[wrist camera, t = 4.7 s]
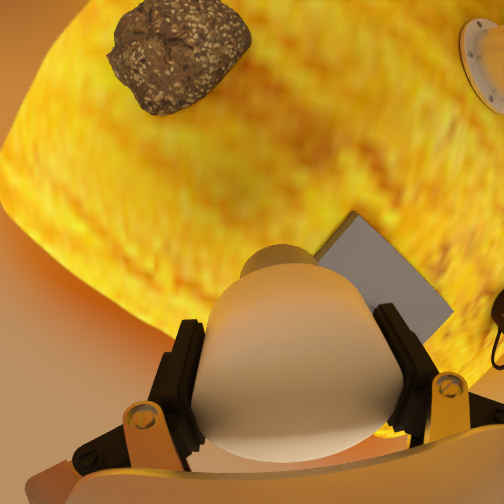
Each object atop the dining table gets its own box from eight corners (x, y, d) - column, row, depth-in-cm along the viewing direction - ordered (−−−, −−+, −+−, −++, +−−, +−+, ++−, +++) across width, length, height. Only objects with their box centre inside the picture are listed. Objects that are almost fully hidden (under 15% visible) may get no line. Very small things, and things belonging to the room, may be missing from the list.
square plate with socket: (353, 210, 28) (376, 230, 23) (448, 305, 33) (471, 331, 28) (233, 344, 34) (231, 381, 29) (346, 400, 39) (355, 432, 34)
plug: (344, 219, 15) (426, 319, 7) (338, 326, 17) (379, 448, 9) (210, 228, 15) (165, 342, 7) (226, 335, 17) (212, 464, 10)
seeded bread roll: (269, 48, 23) (273, 31, 18) (166, 133, 26) (150, 134, 21) (183, -28, 19) (172, -51, 14) (90, 53, 22) (65, 43, 17)
